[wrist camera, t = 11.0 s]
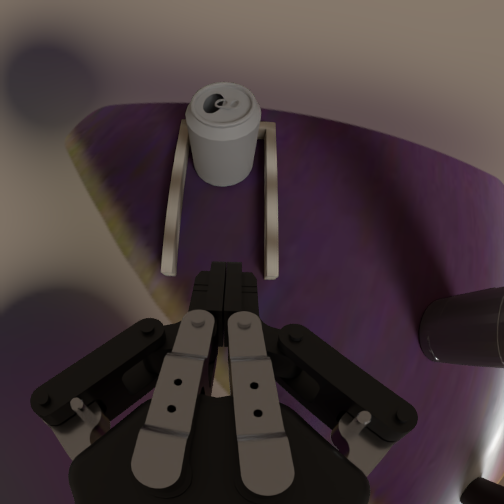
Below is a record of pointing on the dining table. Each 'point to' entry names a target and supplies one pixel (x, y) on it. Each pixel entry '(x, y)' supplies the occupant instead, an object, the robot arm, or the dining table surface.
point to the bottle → (483, 493)
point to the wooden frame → (270, 201)
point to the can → (223, 132)
